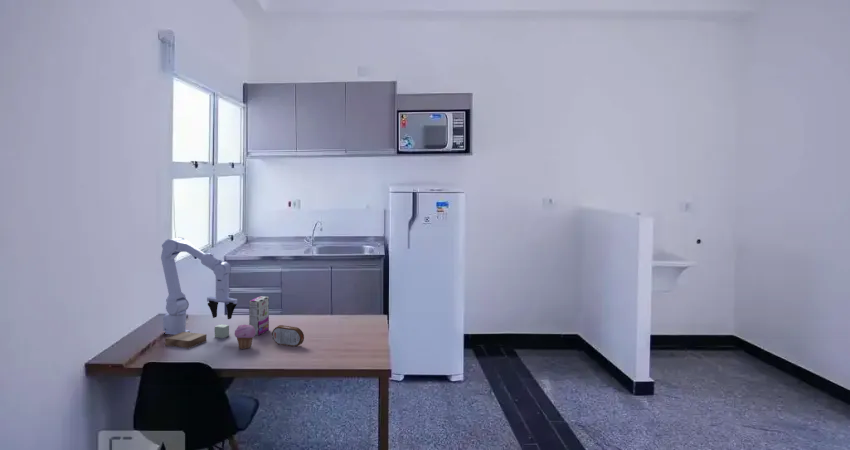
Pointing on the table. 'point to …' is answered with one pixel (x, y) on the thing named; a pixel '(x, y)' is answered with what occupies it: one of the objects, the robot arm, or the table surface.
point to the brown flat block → (185, 339)
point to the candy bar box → (259, 314)
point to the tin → (288, 335)
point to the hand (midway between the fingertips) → (222, 318)
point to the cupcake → (245, 335)
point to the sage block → (221, 331)
